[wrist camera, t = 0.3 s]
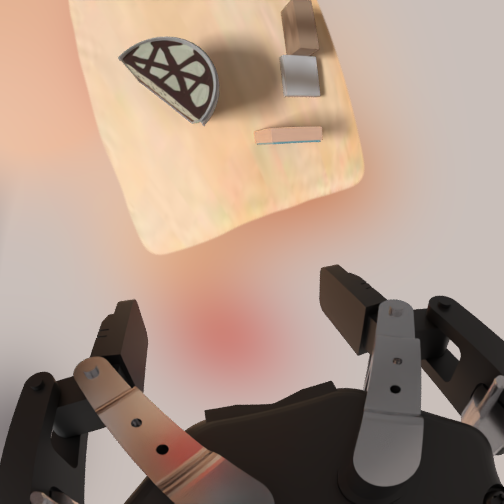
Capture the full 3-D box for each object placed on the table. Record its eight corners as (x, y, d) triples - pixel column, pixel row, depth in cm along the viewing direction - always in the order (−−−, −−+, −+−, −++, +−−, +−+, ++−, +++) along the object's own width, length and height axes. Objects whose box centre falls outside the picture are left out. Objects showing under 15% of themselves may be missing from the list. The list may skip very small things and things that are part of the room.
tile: (253, 131, 36) (270, 127, 29) (296, 129, 37) (321, 126, 30) (255, 144, 37) (272, 144, 29) (297, 141, 38) (322, 141, 31)
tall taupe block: (273, 11, 30) (284, -3, 25) (304, 14, 31) (318, 1, 26) (283, 97, 35) (297, 91, 31) (315, 97, 36) (332, 92, 31)
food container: (232, 97, 34) (248, 80, 25) (200, 130, 35) (205, 124, 26) (164, 43, 29) (158, 12, 20) (131, 76, 30) (114, 54, 21)
